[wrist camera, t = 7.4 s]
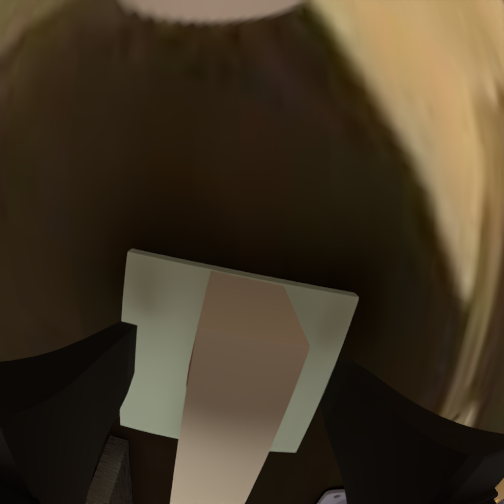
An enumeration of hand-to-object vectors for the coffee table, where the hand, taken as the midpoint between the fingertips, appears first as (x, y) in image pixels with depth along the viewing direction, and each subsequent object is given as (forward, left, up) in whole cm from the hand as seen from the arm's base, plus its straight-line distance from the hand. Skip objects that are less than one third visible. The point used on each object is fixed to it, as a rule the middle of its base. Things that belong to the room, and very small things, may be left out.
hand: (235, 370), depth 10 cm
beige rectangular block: (0, +3, -3) cm, 4 cm away
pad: (0, +2, -4) cm, 4 cm away
